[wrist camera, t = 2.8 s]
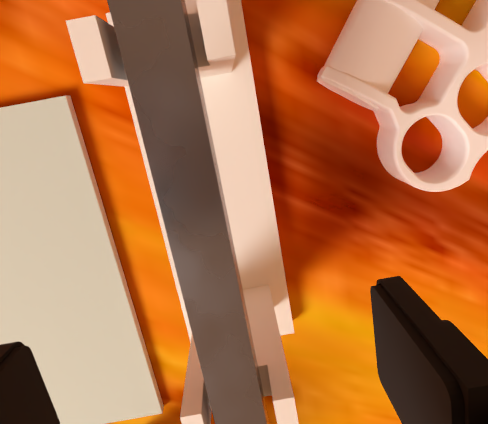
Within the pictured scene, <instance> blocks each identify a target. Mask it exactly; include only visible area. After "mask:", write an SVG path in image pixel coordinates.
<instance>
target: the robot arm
mask: <svg viewBox="0 0 488 424" xmlns="http://www.w3.org/2000/svg"><path fill="white" fill-rule="evenodd" d="M371 302H372V313H373V324H374V335H375V346H376V357H377V368H378V374H379V378H380V381H381V383H382V386H383V388H384V389H385V391H386V393H387V395H388V397H389V399H390V401H391V403H392V405H393V407H394V409H395V411H396V413H397V415H398V416H399V418H400V420H401V422H402V424H488V359H487V358H486V357H485V356H484V355H483V354H482V353H481V352H480V351H479V350H478V349H477V348H476V347H475V346H474V345H473V344H472V343H471V342H470V341H469V340H468V339H467V338H466V337H465V336H464V335H463V333H462V332H461V331H460V330H459V329H458V328H457V327H456V326H455V325H454V324H453V323H451V322H450V321H448V320H441V319H440V318H439V317H438V316H437V315H436V314H435V313H434V312H433V311H432V310H431V308H430V307H429V306H428V305H427V304H426V303H425V302H424V301H423V300H422V299H421V298H420V297H419V296H418V295H417V294H416V292H415V291H414V290H413V289H412V288H411V287H410V286H409V285H408V284H407V283H406V282H405V281H404V280H403V279H402V278H401V277H400V276H396V277H390V278H384V279H379V280H377V285H376V286H371ZM0 424H60V421H59V419H58V416H57V413H56V411H55V408H54V406H53V403H52V401H51V398H50V396H49V393H48V391H47V388H46V386H45V383H44V381H43V378H42V376H41V373H40V371H39V368H38V366H37V363H36V361H35V358H34V356H33V353H32V351H31V349H30V347H28V346H25V345H24V344H23V343H22V342H19V341H18V342H12V343H7V344H1V345H0Z"/></svg>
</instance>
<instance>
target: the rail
mask: <svg viewBox="0 0 488 424" xmlns="http://www.w3.org/2000/svg"><path fill="white" fill-rule="evenodd" d="M107 1H108V5H109V9H110V13H111V17H112V21H113V25H114V29H115V33H116V37H117V40H118V44H119V48H120V52H121V56H122V60H123V64H124V68H125V72H126V76H127V80H128V84H129V88H130V91H131V95H132V99H133V103H134V107H135V111H136V115H137V119H138V123H139V127H140V131H141V135H142V139H143V143H144V146H145V150H146V154H147V158H148V162H149V166H150V170H151V174H152V178H153V182H154V186H155V190H156V194H157V197H158V201H159V205H160V209H161V213H162V217H163V221H164V225H165V229H166V233H167V237H168V241H169V245H170V249H171V252H172V256H173V260H174V264H175V268H176V272H177V276H178V280H179V284H180V288H181V292H182V296H183V300H184V303H185V307H186V311H187V315H188V319H189V323H190V327H191V331H192V335H193V339H194V343H195V347H196V351H197V355H198V358H199V362H200V366H201V370H202V374H203V378H204V382H205V386H206V390H207V394H208V398H209V402H210V406H211V409H212V413H213V417H214V421H215V424H269V419H268V414H267V409H266V404H265V399H264V394H263V389H262V384H261V379H260V374H259V369H258V364H257V359H256V354H255V349H254V344H253V339H252V334H251V329H250V324H249V319H248V314H247V309H246V304H245V299H244V294H243V289H242V284H241V279H240V274H239V269H238V264H237V259H236V254H235V249H234V244H233V239H232V234H231V229H230V224H229V219H228V214H227V209H226V204H225V199H224V194H223V189H222V184H221V179H220V174H219V169H218V164H217V159H216V154H215V149H214V144H213V139H212V134H211V129H210V124H209V119H208V114H207V109H206V104H205V99H204V94H203V89H202V84H201V79H200V74H199V69H198V64H197V59H196V54H195V49H194V44H193V39H192V34H191V29H190V24H189V19H188V14H187V9H186V4H185V0H107Z"/></svg>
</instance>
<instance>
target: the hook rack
mask: <svg viewBox="0 0 488 424" xmlns="http://www.w3.org/2000/svg"><path fill="white" fill-rule="evenodd" d="M185 4H186V9H187V14H188V19H189V24H190V29H191V34H192V39H193V44H194V49H195V54H196V59H197V64H198V69H199V74H200V79H201V84H202V89H203V94H204V99H205V104H206V109H207V114H208V119H209V124H210V129H211V134H212V139H213V144H214V149H215V154H216V159H217V164H218V169H219V174H220V179H221V184H222V189H223V194H224V199H225V204H226V209H227V214H228V219H229V224H230V229H231V234H232V239H233V244H234V249H235V254H236V259H237V264H238V269H239V274H240V279H241V284H242V289H243V294H244V299H245V304H246V309H247V314H248V319H249V324H250V329H251V334H252V339H253V344H254V349H255V354H256V359H257V364H258V369H259V374H260V379H261V384H262V389H263V394H264V396H270V395H272V398H273V404H274V409H275V414H276V420H277V424H299V423H298V417H297V411H296V405H295V400H294V395H293V390H292V386H291V381H290V377H289V372H288V368H287V363H286V359H285V354H284V350H283V346H282V341H281V337H280V335H286V334H291V333H294V328H293V321H292V315H291V309H290V303H289V296H288V290H287V284H286V278H285V271H284V265H283V259H282V253H281V247H280V240H279V234H278V228H277V222H276V215H275V209H274V203H273V197H272V190H271V184H270V178H269V172H268V166H267V159H266V153H265V147H264V141H263V134H262V128H261V122H260V116H259V109H258V103H257V97H256V91H255V85H254V78H253V72H252V66H251V60H250V53H249V47H248V41H247V35H246V28H245V22H244V16H243V10H242V4H241V0H185ZM106 16H107V20H108V23H107V22H105V21H104V20H102V19H100V18H99V17H97V16H95V15H94V16H89V17H83V18H78V19H73V20H67V21H66V24H67V27H68V31H69V34H70V38H71V41H72V45H73V48H74V52H75V55H76V59H77V62H78V66H79V69H80V72H81V76H82V79H83V83H88V84H101V85H113V86H125V90H126V94H127V98H128V102H129V106H130V109H131V113H132V117H133V121H134V125H135V129H136V133H137V136H138V140H139V144H140V148H141V152H142V156H143V160H144V164H145V167H146V171H147V175H148V179H149V183H150V187H151V191H152V195H153V198H154V202H155V206H156V210H157V214H158V218H159V222H160V226H161V229H162V233H163V237H164V241H165V245H166V249H167V253H168V257H169V260H170V264H171V268H172V272H173V276H174V280H175V284H176V288H177V291H178V295H179V299H180V303H181V307H182V311H183V315H184V319H185V322H186V326H187V330H188V334H189V338H190V342H191V344H190V351H189V358H188V365H187V372H186V379H185V386H184V393H183V400H182V407H181V414H180V419H181V423H182V424H211V406H210V402H209V398H208V394H207V390H206V386H205V382H204V378H203V374H202V370H201V366H200V362H199V358H198V355H197V351H196V347H195V343H194V339H193V335H192V331H191V327H190V323H189V319H188V315H187V311H186V307H185V303H184V300H183V296H182V292H181V288H180V284H179V280H178V276H177V272H176V268H175V264H174V260H173V256H172V252H171V249H170V245H169V241H168V237H167V233H166V229H165V225H164V221H163V217H162V213H161V209H160V205H159V201H158V197H157V194H156V190H155V186H154V182H153V178H152V174H151V170H150V166H149V162H148V158H147V154H146V150H145V146H144V143H143V139H142V135H141V131H140V127H139V123H138V119H137V115H136V111H135V107H134V103H133V99H132V95H131V91H130V88H129V84H128V80H127V76H126V72H125V68H124V64H123V60H122V56H121V52H120V48H119V44H118V40H117V37H116V33H115V29H114V25H113V21H112V17H111V13H106Z"/></svg>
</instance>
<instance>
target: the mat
mask: <svg viewBox="0 0 488 424" xmlns="http://www.w3.org/2000/svg"><path fill="white" fill-rule="evenodd" d="M18 341H19V342H22V343H23V344H24V345H25V346H28V347H30V349H31V351H32V353H33V356H34V358H35V361H36V363H37V366H38V368H39V371H40V373H41V376H42V378H43V381H44V383H45V386H46V388H47V391H48V393H49V396H50V398H51V401H52V403H53V406H54V408H55V411H56V413H57V416H58V419H59V421H60V424H106V423H111V422H117V421H123V420H128V419H134V418H139V417H145V416H151V415H156V414H162V412H163V407H164V405H163V402H162V399H161V395H160V392H159V389H158V385H157V382H156V379H155V375H154V372H153V369H152V365H151V362H150V359H149V355H148V352H147V349H146V345H145V342H144V339H143V336H142V332H141V329H140V326H139V322H138V319H137V316H136V312H135V309H134V306H133V302H132V299H131V296H130V292H129V289H128V286H127V282H126V279H125V276H124V272H123V269H122V266H121V262H120V259H119V256H118V252H117V249H116V246H115V243H114V239H113V236H112V233H111V229H110V226H109V223H108V219H107V216H106V213H105V209H104V206H103V203H102V199H101V196H100V193H99V189H98V186H97V183H96V179H95V176H94V173H93V169H92V166H91V163H90V159H89V156H88V153H87V149H86V146H85V143H84V140H83V136H82V133H81V130H80V126H79V123H78V120H77V116H76V113H75V110H74V106H73V103H72V100H71V96H60V97H55V98H49V99H44V100H39V101H33V102H28V103H23V104H17V105H12V106H7V107H1V108H0V345H1V344H7V343H12V342H18Z"/></svg>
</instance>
